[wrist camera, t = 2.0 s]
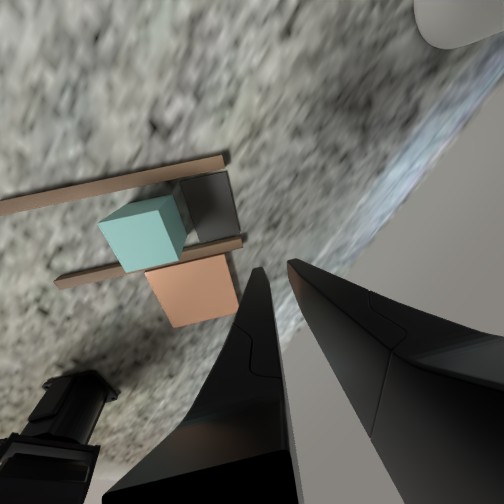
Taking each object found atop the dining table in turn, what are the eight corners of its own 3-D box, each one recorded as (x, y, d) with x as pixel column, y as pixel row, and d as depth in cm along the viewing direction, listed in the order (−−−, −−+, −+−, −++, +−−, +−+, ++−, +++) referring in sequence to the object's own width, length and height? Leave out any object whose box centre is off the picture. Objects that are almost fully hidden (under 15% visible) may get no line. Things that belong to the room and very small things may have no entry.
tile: (239, 307, 25) (240, 311, 24) (174, 323, 25) (173, 328, 24) (223, 250, 21) (224, 254, 20) (146, 268, 21) (144, 272, 20)
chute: (242, 244, 21) (243, 247, 20) (65, 284, 20) (59, 289, 20) (221, 154, 17) (222, 155, 16) (-2, 200, 16) (-11, 203, 16)
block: (187, 235, 20) (178, 260, 16) (146, 244, 20) (125, 272, 15) (172, 194, 18) (157, 210, 14) (126, 203, 18) (97, 223, 13)
